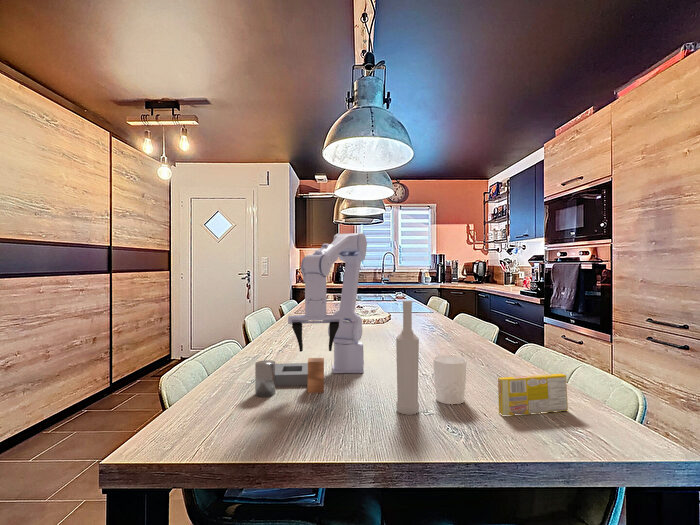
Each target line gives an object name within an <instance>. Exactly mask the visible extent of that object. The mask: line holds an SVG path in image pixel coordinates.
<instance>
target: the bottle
mask: <svg viewBox="0 0 700 525" xmlns="http://www.w3.org/2000/svg"><path fill="white" fill-rule="evenodd" d="M412 310H413V301H412V300H406V299H405V300H402V323H403V324H402V330H401V333H400V334H398V335H397V336H396V337H395V341H396V345H395V347H396V348H395V349H396V350H395V351H396V352H395V353H396V386H397V387H396V388H397V389H396V392H397V393H396V394H397V398H396V399H397V400H396V403H395V404H396V411H397V413H398V414H400V413H401V415H404V414H406V415H405V416H414V415H417V414H418V413H419V410H420V403H419V357H420V356H419V353H420V352H419V351H420V350H419V349H420V347H419V346H420V338H419V337H418V336H417V335H416V334H415V333H414V330H413V328H412V327H413V326H412V325H413V323H412V321H413V318H412V317H413V316H412V315H413V314H412ZM416 413H417V414H416ZM413 414H414V415H413Z"/></svg>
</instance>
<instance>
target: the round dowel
mask: <svg viewBox="0 0 700 525" xmlns="http://www.w3.org/2000/svg"><path fill="white" fill-rule="evenodd" d="M254 363H255V365H254V366H255V368H254V369H255V371H254V372H255V373H254V374H255V376H254V378H255V380H254V381H255V382H254V384H255V386H254V388H255V391H254V392H255V394H254V395H255V397H258V398H270V397H272V396H275V394H276V386H275V364H276V361H274V360H267V359H266V360H259V361H256V362H254Z"/></svg>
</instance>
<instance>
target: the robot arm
mask: <svg viewBox="0 0 700 525" xmlns="http://www.w3.org/2000/svg"><path fill="white" fill-rule="evenodd" d="M367 246H368V242H367V238H366V235H365V233H363V232H357V233H356V232H355V233H352V232H351V233H336V234H335V235H333V241H332V242H331V243H323V244H321V247H320V248H319V249H316V250H315V251H314V253H312V254H307V255H305V256H304V257H303V258H302V260H301V264H300V271H301V273H302V281H303V283H304V314H301V315H298V314H297V315H288V316H287V324H288V325H291V328H292V331H293V332H294V335H295V336H296V340H297V343H298V347H299V348H298V350H299V352H303V350H304V347H303V346H304V344H303V324H328V327H327V328H328V329H327V334H328V337H329V338H328V340H329V341H328V351H329V352H332V348H333V364H332V373H333V374H361V373H362V374H363V373H364V372H365V370H364V367H365V360H364V359H365V357H364V344H363V341H360V340H361V339H362V336H363V319H362V317H361V316H360V315H359V314H358V313H357V312H355V310H356V302H357V293H358V287H359V286H358V285H359V278H360V270H361V263H362V262H363V261H365V260H366V256H367ZM338 259H339V261H342V262H344V263H345V264H344V271H343V273H344V274H343V281H342V288H341V294H340V304H339V309H338V310H337V311H336V312H335V313H333V314H327V277H328V276H329V275H330V272H331V268H332V266H333V264H335V262H337V260H338Z"/></svg>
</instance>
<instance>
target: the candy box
mask: <svg viewBox="0 0 700 525" xmlns="http://www.w3.org/2000/svg"><path fill="white" fill-rule="evenodd" d="M567 386H568V385H567V375H566V374H563V373H552V374H551V373H550V374H537V375H522V376H521V375H520V376H507V377H497V388H498V389H497V390H498V414H499V413H501V414H502V415H515V414H531V413H541V412H554V411H567V410H568V411H569V408H568V407H569V405H568V389H567Z"/></svg>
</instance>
